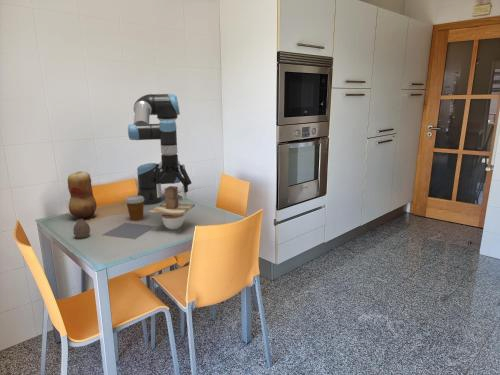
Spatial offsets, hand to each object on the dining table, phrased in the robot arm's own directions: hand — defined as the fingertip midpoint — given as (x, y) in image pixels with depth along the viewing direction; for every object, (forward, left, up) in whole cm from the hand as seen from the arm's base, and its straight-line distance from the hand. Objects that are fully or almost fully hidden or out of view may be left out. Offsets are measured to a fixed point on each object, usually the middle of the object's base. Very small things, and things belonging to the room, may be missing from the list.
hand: (172, 197), depth 173 cm
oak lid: (0, 0, -6) cm, 6 cm away
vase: (+23, -34, -15) cm, 44 cm away
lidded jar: (0, 0, -15) cm, 15 cm away
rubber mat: (+10, -18, -15) cm, 26 cm away
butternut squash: (-1, -54, -15) cm, 56 cm away
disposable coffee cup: (-6, -25, -15) cm, 30 cm away
